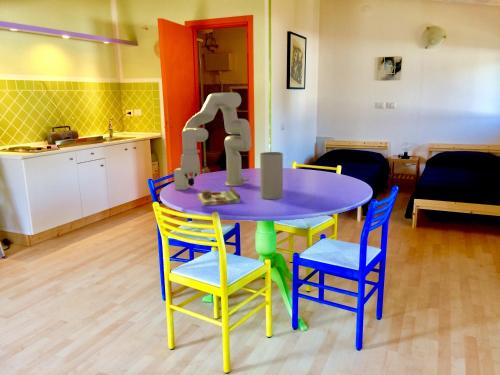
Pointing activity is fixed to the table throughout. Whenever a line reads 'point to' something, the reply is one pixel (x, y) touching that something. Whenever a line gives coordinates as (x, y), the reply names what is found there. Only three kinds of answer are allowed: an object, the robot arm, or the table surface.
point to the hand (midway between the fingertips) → (191, 185)
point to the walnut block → (206, 194)
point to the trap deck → (221, 198)
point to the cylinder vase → (271, 175)
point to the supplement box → (180, 180)
